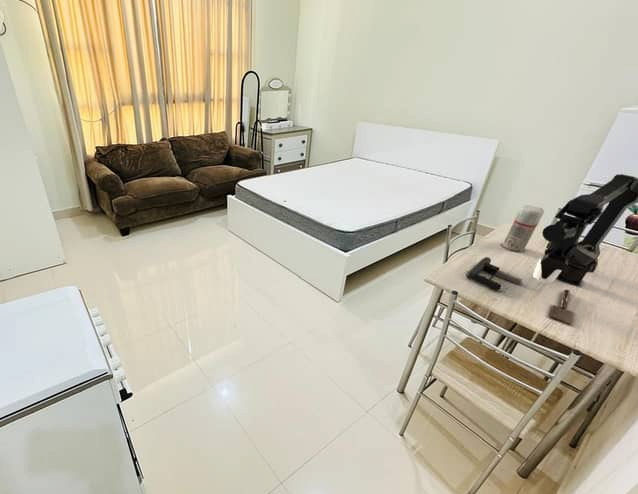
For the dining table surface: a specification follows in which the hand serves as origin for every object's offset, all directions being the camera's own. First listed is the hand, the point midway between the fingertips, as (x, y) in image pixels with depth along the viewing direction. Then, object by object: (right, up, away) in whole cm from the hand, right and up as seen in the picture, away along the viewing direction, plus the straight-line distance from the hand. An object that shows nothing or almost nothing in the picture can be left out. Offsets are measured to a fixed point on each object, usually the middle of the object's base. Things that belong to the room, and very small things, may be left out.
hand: (544, 275), depth 113 cm
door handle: (-9, -2, +12) cm, 15 cm away
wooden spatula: (+3, -11, -3) cm, 11 cm away
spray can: (+17, +10, +33) cm, 39 cm away
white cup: (0, -1, +1) cm, 2 cm away
